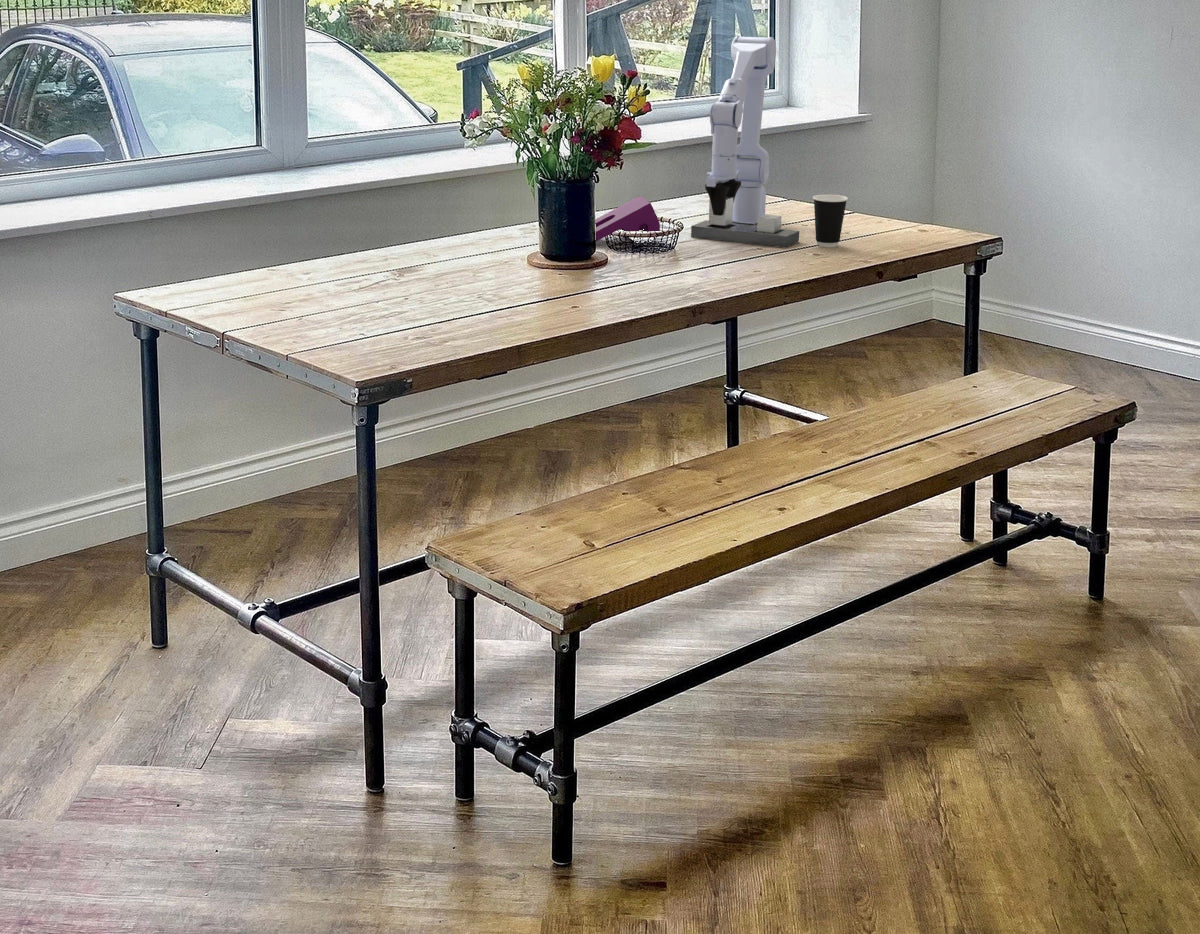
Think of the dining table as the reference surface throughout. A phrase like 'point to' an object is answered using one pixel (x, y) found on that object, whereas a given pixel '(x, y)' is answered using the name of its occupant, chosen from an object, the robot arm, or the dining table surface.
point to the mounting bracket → (628, 218)
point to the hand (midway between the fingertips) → (722, 213)
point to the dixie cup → (829, 218)
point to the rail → (744, 234)
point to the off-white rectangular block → (769, 224)
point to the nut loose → (727, 213)
